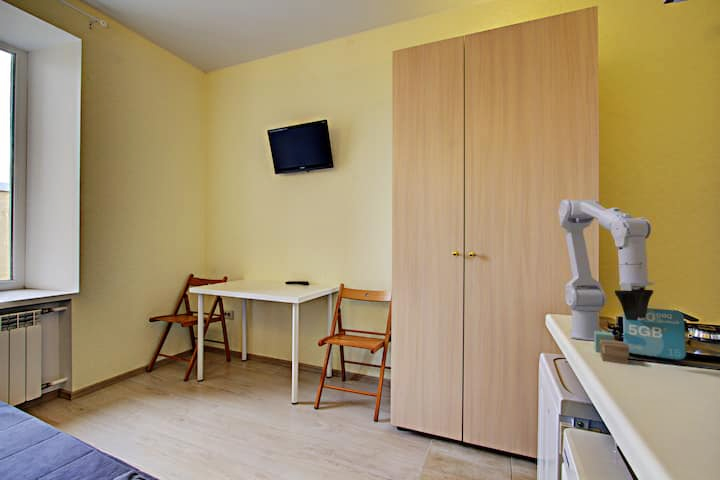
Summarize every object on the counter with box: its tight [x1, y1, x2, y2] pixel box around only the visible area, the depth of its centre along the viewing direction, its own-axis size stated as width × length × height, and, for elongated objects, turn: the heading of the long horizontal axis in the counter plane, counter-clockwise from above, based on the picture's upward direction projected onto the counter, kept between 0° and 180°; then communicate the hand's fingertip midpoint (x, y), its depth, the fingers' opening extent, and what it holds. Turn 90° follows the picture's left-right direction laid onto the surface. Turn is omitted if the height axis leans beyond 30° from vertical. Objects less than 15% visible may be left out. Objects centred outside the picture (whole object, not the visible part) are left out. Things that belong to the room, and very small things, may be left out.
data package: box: [622, 307, 687, 361], centre depth 91 cm, size 12×4×12 cm, turn 55°
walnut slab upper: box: [600, 340, 630, 357], centre depth 89 cm, size 5×5×2 cm
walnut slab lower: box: [600, 350, 629, 365], centre depth 89 cm, size 5×5×2 cm
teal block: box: [593, 330, 615, 354], centre depth 96 cm, size 4×4×5 cm
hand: (635, 318), depth 88 cm, fingers open, 7 cm apart
